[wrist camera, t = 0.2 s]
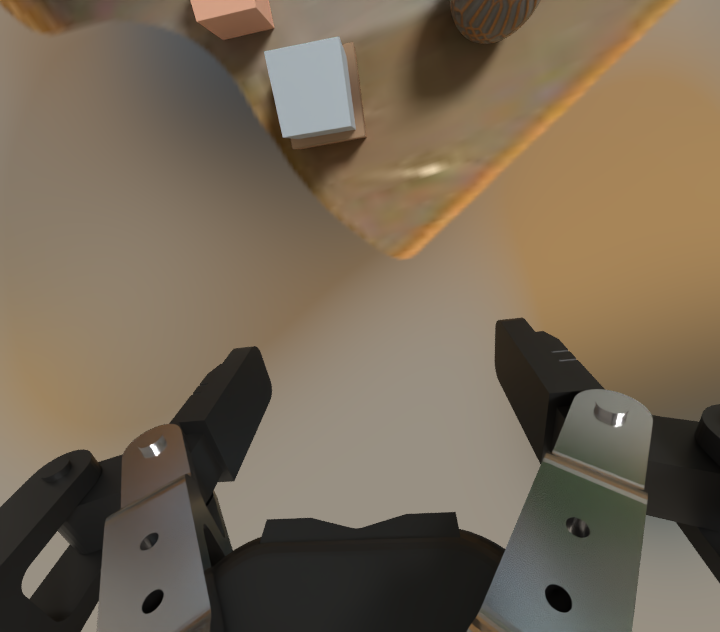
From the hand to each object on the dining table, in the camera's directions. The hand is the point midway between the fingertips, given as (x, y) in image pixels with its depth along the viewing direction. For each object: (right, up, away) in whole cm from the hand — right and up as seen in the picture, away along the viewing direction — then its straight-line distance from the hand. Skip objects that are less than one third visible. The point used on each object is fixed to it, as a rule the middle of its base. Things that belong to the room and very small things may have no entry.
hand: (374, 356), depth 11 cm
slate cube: (-4, +21, +18) cm, 28 cm away
